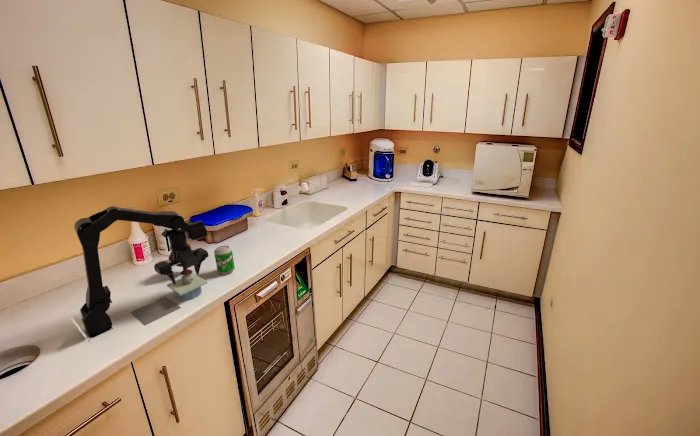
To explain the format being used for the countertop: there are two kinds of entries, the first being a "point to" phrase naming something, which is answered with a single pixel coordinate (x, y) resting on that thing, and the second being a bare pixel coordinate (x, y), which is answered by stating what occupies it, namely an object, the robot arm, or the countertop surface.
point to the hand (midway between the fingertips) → (186, 279)
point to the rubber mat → (155, 310)
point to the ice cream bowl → (185, 270)
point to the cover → (187, 284)
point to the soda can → (224, 260)
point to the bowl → (190, 294)
